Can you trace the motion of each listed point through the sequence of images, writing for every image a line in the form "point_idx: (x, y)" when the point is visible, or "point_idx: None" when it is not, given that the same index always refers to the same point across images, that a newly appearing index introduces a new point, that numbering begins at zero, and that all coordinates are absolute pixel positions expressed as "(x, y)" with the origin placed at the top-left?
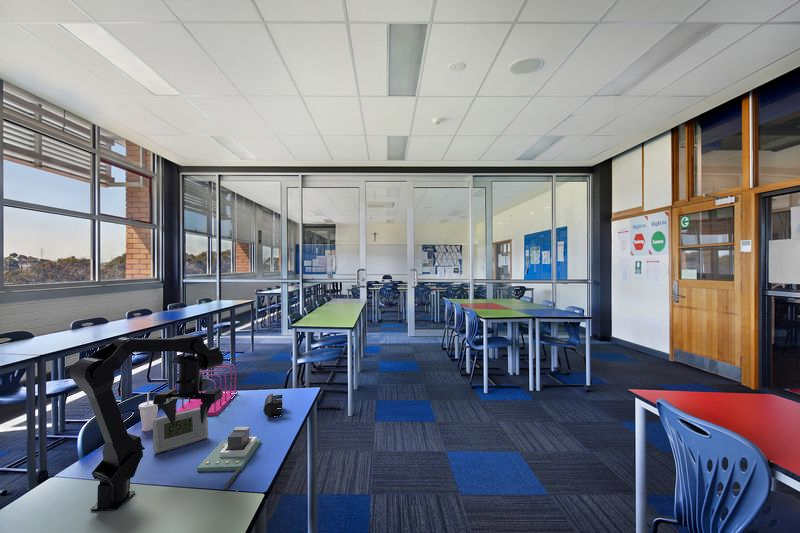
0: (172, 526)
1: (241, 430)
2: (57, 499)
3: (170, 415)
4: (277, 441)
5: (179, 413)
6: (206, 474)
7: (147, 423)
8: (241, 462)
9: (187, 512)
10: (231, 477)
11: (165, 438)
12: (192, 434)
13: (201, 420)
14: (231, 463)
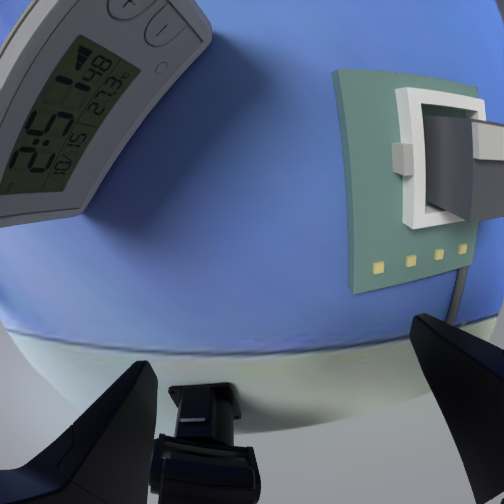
0: (379, 409)
1: (500, 159)
2: (82, 391)
3: (147, 467)
4: (501, 92)
5: None
6: (384, 292)
7: None
8: (470, 246)
9: (392, 389)
10: (456, 307)
11: (62, 187)
12: (149, 78)
13: (425, 364)
14: (448, 254)
